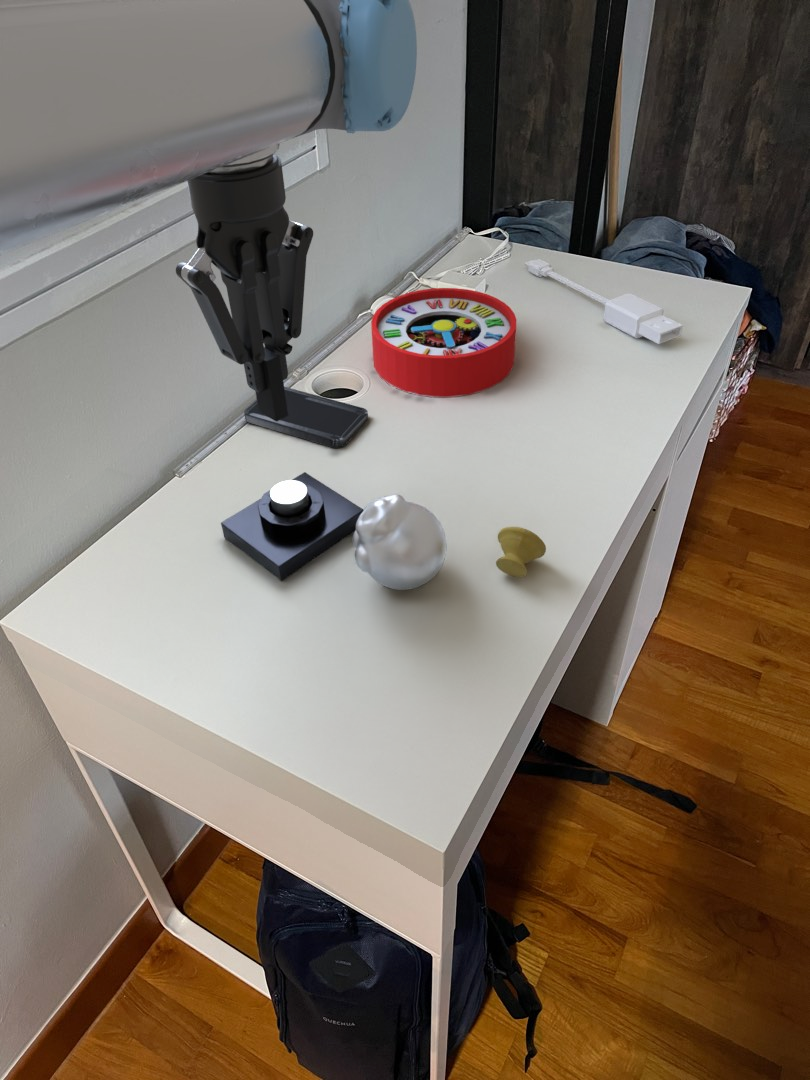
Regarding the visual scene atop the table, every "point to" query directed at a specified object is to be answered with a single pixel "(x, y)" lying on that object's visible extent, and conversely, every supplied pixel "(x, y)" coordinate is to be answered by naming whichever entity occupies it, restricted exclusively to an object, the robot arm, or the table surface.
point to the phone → (313, 418)
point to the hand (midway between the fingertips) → (273, 412)
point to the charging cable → (622, 309)
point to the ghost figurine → (399, 543)
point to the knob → (518, 550)
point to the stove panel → (292, 529)
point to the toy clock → (443, 342)
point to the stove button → (289, 499)
